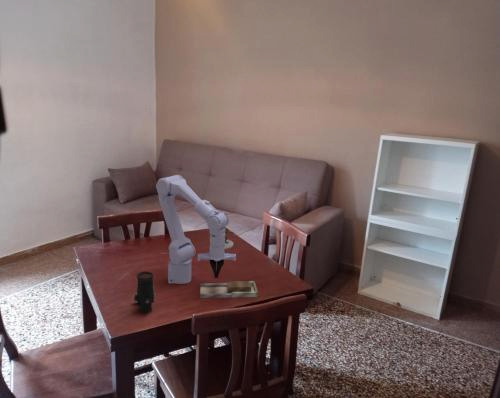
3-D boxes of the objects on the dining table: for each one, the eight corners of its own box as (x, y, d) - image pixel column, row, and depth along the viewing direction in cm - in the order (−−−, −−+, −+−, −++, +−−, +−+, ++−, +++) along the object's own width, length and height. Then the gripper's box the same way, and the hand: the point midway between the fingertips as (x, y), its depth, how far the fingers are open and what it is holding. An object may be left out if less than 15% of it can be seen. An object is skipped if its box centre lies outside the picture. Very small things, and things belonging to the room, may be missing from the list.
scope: (154, 265, 142) (159, 278, 133) (154, 299, 146) (160, 313, 137) (131, 268, 139) (134, 281, 130) (132, 303, 143) (136, 317, 134)
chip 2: (239, 294, 151) (239, 287, 150) (238, 288, 155) (238, 281, 154) (250, 293, 152) (251, 286, 151) (249, 288, 156) (250, 281, 155)
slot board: (200, 299, 147) (200, 293, 146) (200, 287, 156) (200, 281, 155) (257, 298, 150) (257, 292, 149) (254, 286, 159) (254, 281, 158)
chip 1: (227, 294, 150) (228, 287, 150) (227, 288, 155) (227, 281, 154) (239, 294, 151) (239, 287, 150) (238, 288, 155) (238, 281, 154)
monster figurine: (219, 251, 192) (220, 231, 189) (205, 243, 200) (205, 225, 197) (238, 245, 200) (238, 227, 197) (223, 238, 208) (224, 220, 205)
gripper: (197, 248, 142) (197, 281, 146) (237, 248, 144) (235, 281, 147) (198, 241, 149) (197, 273, 152) (235, 241, 150) (234, 273, 154)
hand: (216, 276), depth 150 cm, fingers closed
